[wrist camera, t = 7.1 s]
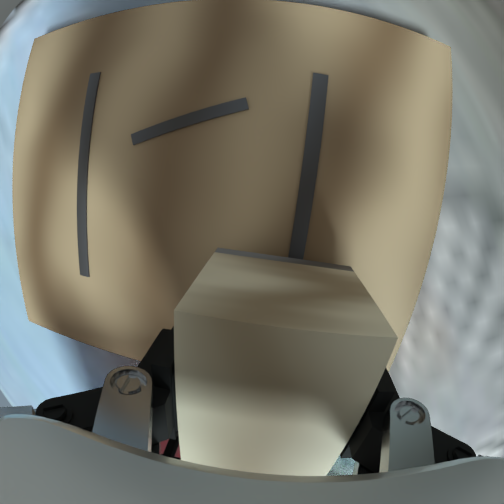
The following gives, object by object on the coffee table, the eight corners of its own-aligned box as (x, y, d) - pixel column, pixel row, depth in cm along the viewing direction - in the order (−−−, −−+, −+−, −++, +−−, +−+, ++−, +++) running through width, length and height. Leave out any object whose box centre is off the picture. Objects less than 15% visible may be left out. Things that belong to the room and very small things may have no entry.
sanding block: (350, 266, 11) (398, 337, 6) (310, 401, 13) (318, 486, 8) (217, 247, 11) (173, 309, 6) (207, 388, 13) (182, 471, 8)
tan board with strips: (436, 55, 10) (451, 46, 8) (371, 378, 15) (377, 395, 13) (49, 44, 11) (33, 38, 9) (41, 311, 16) (27, 321, 15)
